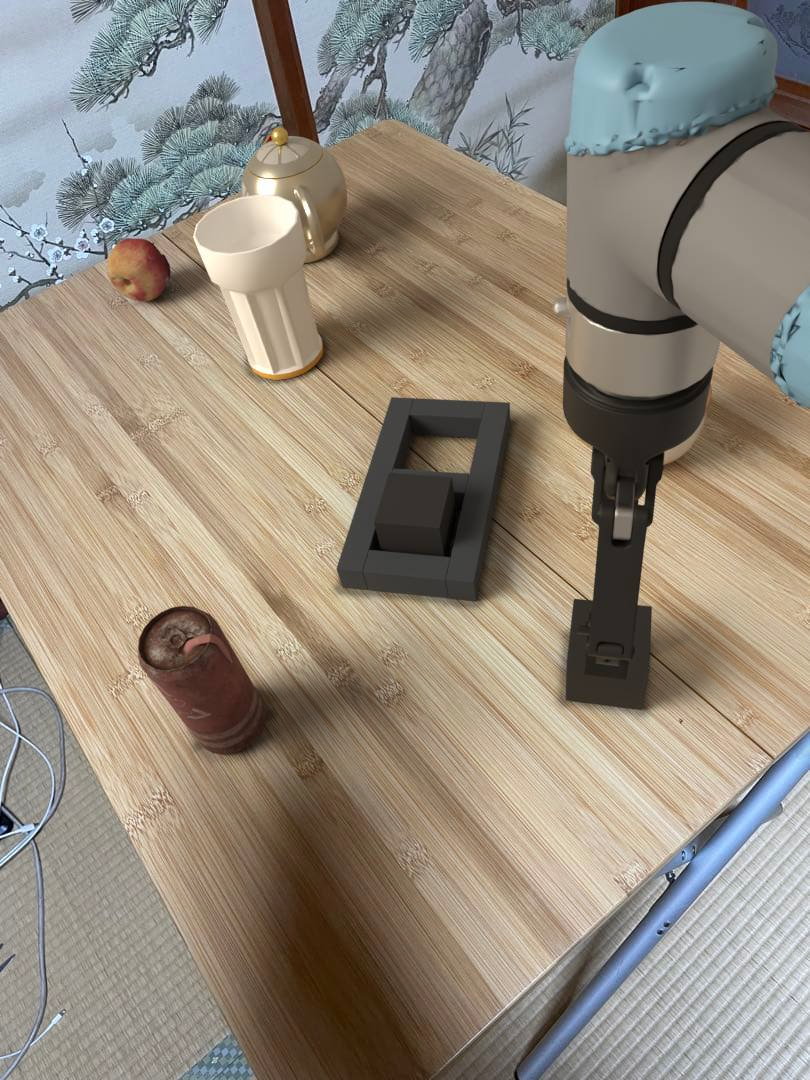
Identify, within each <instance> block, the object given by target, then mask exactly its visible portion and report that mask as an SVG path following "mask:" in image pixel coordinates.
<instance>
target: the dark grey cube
mask: <svg viewBox="0 0 810 1080" xmlns="http://www.w3.org/2000/svg"><path fill="white" fill-rule="evenodd" d="M458 520H459V519H458V512H457V511H456V504H455V496H454V489H453V481H452V477H442V476H427V475H413V474H399V473H389V474H388V478H387V481H386V484H385V488H384V491H383V494H382V497H381V501H380V504H379V507H378V511H377V514H376V517H375V521H374V524H375V528H376V532H377V536H378V540H379V543H380V551H387V552H398V553H409V554H420V555H431V556H442V557H450V553H451V551H452V545H453V542H454V537H455V533H456V532H455V531H456V529H457V528H456V527H457V524H458Z"/></svg>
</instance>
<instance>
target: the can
mask: <svg viewBox="0 0 810 1080" xmlns="http://www.w3.org/2000/svg"><path fill="white" fill-rule="evenodd" d="M220 626H221V625H220V624H219V623H218V621H217V620H216V619H215V618H214V616H212V615H211V613H208V612H206V611H204V610H202V609H199V608H197V607H195V606H190V605H178V606H172V607H169V608H168V609H165V610H163V611H161V612H159V613H158V614H157V615H155V616H153V617H152V618H150V620H149V621H148V622H147V624H146V625H145V626H144V627H143V629H142V631H141V633H140V636H139V637H138V642H137V643H138V644H137V650H138V651H137V658H138V662H139V666H140V668H141V669H142V671H144V673H145V674H146V675H147V677H148V678H149V680H150V681H151V682H152V683H153V685H154V686H155V687H156V689H157V690H158V691H159V692H160V694H161V695H162V697H164V699H165V700H166V702H167V703H168V704H169V705H170V707H171V708H172V709H173V711H174V712H175V713H176V714H177V716H178V717H179V718H180V720H181V721H182V722H183V723H184V725H185V726H186V727H187V728H188V730H189V731H190V732H191V734H192V735H193V736H194V738H195V739H196V740H197V741H198V743H199V744H200V745H201V747H202V748H203V749H204V750H206V751H208V752H210V753H212V754H215V755H221V756H225V755H232V754H233V755H234V754H236V753H238V752H240V751H243V750H245V749H247V748H248V747H249V746H251V745H252V744H253V743H254V742H255V741H256V740H257V739H258V737H259V736H260V735H261V733H262V732H263V730H264V726H265V724H266V720H267V708H266V706H265V703H264V701H263V699H262V697H261V695H260V693H259V692H258V690H257V689H256V687H255V685H254V683H253V682H252V679H251V678H250V676H249V674H248V673H247V671H246V669H245V667H244V666H243V664H242V662H241V661H240V659H239V657H238V655H237V654H236V652H235V650H234V648H233V647H232V645H231V644H230V642H229V640H228V639H227V636H226V635H225V633H224V631H223V630H222V628H221V627H220Z"/></svg>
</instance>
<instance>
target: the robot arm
mask: <svg viewBox="0 0 810 1080" xmlns="http://www.w3.org/2000/svg"><path fill="white" fill-rule="evenodd" d="M778 53H779V52H778V42H777V40H776V37H775V36H774V34H773V33H772V32H771V31H770V30H769V29H767V26H766V23H765V21H764V20H763V19H762V18H761V17H760V16H759V15H757V14H755V13H753V12H751V11H749V10H747V9H744V8H741V7H738V6H735V5H731V4H727V3H720V2H713V1H677V2H676V1H675V2H666V3H660V4H654V5H650V6H649V5H648V6H646V7H642V8H639V9H635V10H633V11H631V12H629V13H626V14H623V15H620V16H618V17H616V18H613V19H612V20H610V21H608V22H606V23H605V24H604V25H602V26H601V27H599V28H598V29H597V30H595V32H593V33H592V34H591V35H590V36H589V38H588V39H587V40H586V41H585V42H584V44H583V46H582V47H581V49H580V50H579V53H578V55H577V58H576V61H575V65H574V69H573V82H572V92H571V93H572V94H571V103H570V115H569V128H568V135H567V136H566V137H565V140H564V150H565V153H566V250H565V251H566V253H565V254H566V255H565V256H566V257H565V258H566V259H565V260H566V261H565V262H566V264H565V266H566V267H565V268H566V269H565V273H566V274H565V276H566V296H565V297H563V296H562V297H561V296H559V297H556V298H555V300H554V301H553V305H552V312H553V315H554V316H555V317H556V318H560V319H561V318H563V319H565V318H566V322H565V332H564V333H565V337H564V345H565V346H564V349H565V356H564V359H563V375H562V377H563V378H562V410H563V415H564V417H565V420H566V423H567V424H568V426H569V428H570V429H571V430H572V431H573V433H574V434H575V435H576V436H577V437H579V439H581V440H582V441H583V442H585V443H586V444H587V445H590V446H591V447H592V449H591V460H590V475H591V477H592V479H593V490H592V491H593V492H592V501H591V504H592V505H591V511H590V512H591V515H590V516H591V520H592V522H593V523H594V524H596V525H597V527H598V536H597V545H596V546H597V547H596V556H595V557H596V559H595V569H594V580H593V594H592V600H593V603H592V613H590V612H589V620H588V622H586V621H578V626H577V634H584V635H587V642H586V658H585V671H584V675H592V676H600V677H608V678H616V679H625V680H626V676H627V670H628V664H629V660H630V661H631V659H633V655H634V653H635V646H634V644H633V641H634V634H635V623H636V615H637V606H638V605H639V598H640V597H639V596H640V595H639V594H640V587H641V580H642V579H641V578H642V571H643V562H644V554H645V545H646V539H647V538H646V537H647V531H648V528H649V527H650V526H651V525H652V524H653V522H654V516H655V515H654V514H655V505H656V504H655V503H656V494H657V486H658V483H659V482H660V481H662V478H663V474H664V473H663V471H664V465H663V464H664V452H665V451H667V450H670V449H672V448H674V447H676V446H678V445H680V444H681V443H683V442H684V441H686V440H687V439H688V438H689V437H690V436H692V434H693V433H694V432H695V431H696V430H697V428H698V427H699V425H700V424H701V421H702V419H703V416H704V413H705V408H706V403H707V398H708V394H709V389H710V384H711V385H712V378H713V375H714V374H713V373H714V366H715V364H716V362H717V357H718V354H719V350H720V346H721V345H720V344H721V343H722V344H723V345H725V346H726V347H728V348H729V349H730V350H731V351H732V352H734V353H735V354H736V355H737V356H739V357H740V358H741V359H743V360H744V361H745V362H747V363H748V364H749V365H750V366H752V367H754V369H756V370H757V371H759V373H761V374H762V375H764V376H765V377H766V378H767V379H769V380H770V381H771V382H772V383H774V384H775V385H776V386H778V387H779V390H780V392H781V393H783V394H785V395H786V396H787V397H788V398H789V399H791V400H792V401H793V402H795V403H796V404H797V406H799V407H802V408H805V409H807V410H810V131H809V130H808V129H805V128H803V127H801V126H800V125H799V124H797V123H795V122H793V121H792V120H790V119H788V118H785V117H783V116H781V115H778V114H777V113H775V112H774V111H773V110H771V108H770V103H771V100H772V99H773V97H774V96H775V95H776V93H775V92H776V89H778V87H779V86H778V83H777V80H776V76H775V75H776V65H777V61H778ZM644 493H645V494H644ZM643 495H645V496H644V504H639V501H640V499H641V498H642V496H643Z"/></svg>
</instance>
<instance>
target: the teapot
mask: <svg viewBox="0 0 810 1080" xmlns="http://www.w3.org/2000/svg"><path fill="white" fill-rule="evenodd" d="M271 131H272V132H271V133H270V134H268V135H267V137H266V138H265V140H264V142H262V144H261V146H260V147H259V148H258V149H257V150H255V152H254V153H253V154H252V156H251V157H250V159H249V160H248V161H247V164H246V165H245V168H244V171H243V174H242V177H241V185H240V193H241V197H246V196H253V195H260V194H262V195H273V196H280V197H282V198H284V199H286V200H289V201H291V202H293V204H294V205H295V207H296V208H297V210H298V211H299V214H300V219H301V224H302V228H303V233H304V238H305V242H306V247H307V249H306V259H305V261H304V263H303V264H309V263H313V262H317V261H319V260H322V259H323V258H326V257H328V256H329V255H330V254H331V253H332V252H333V251H334V250H335V249H336V247H337V245H338V244H339V231H338V229H339V227H340V226H341V224H342V222H343V219H344V217H345V213H346V211H347V205H348V187H347V182H346V178H345V175H344V172H343V170H342V168H341V166H340V164H339V163H338V161H337V160H336V158H335V157H334V155H332V154H331V153H330V152H329V151H328V150H327V149H326V148H325V147H324V146H322V145H321V144H320V143H318V142H316V141H314V140H312V139H309V138H306V137H302V136H297V135H296V136H295V135H289V133H288V131H287V130H286V128H284V127H282V126H277V127H275V128H273V129H272V130H271Z"/></svg>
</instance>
